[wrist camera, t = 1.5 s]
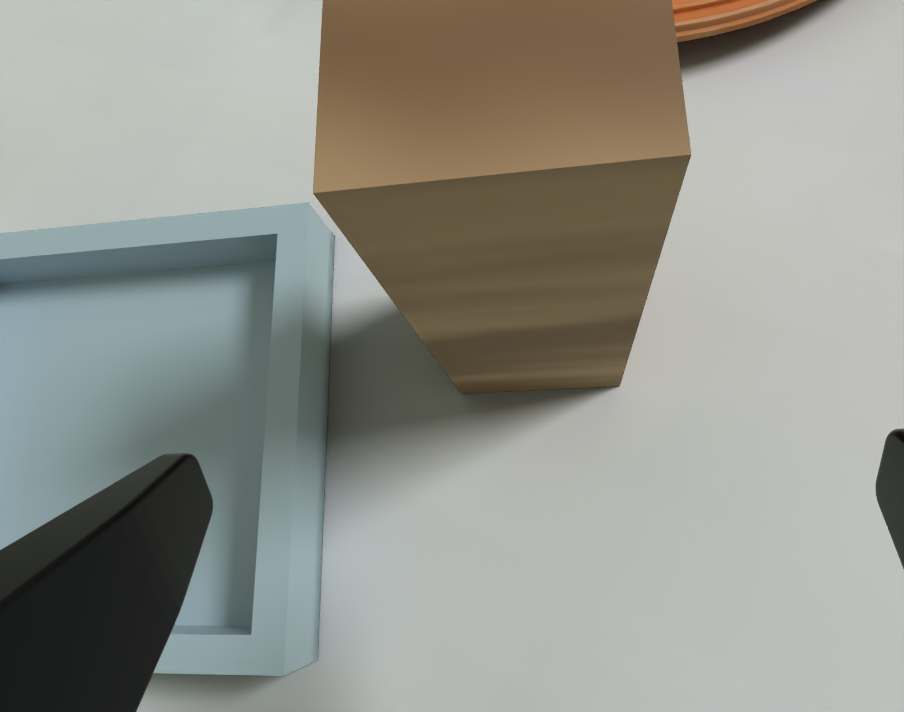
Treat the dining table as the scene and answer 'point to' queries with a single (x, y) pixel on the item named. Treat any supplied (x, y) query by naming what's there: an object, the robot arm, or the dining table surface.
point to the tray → (182, 404)
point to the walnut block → (506, 174)
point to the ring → (726, 15)
